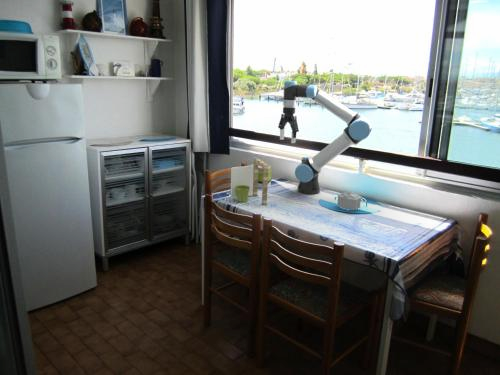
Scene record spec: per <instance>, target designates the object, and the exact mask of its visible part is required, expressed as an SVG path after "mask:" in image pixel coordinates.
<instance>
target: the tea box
mask: <svg viewBox="0 0 500 375" xmlns="http://www.w3.org/2000/svg"><path fill="white" fill-rule="evenodd" d="M248 166H254V163H250V164H249V165H248ZM272 167H273V166H272V165H268V188H267V190H268V189H269V188H270V187H271V186H272V185H271V183H272ZM262 183H263V168H262V167H261V166H259V165H258V189H262Z"/></svg>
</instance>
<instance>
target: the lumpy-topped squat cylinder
mask: <svg viewBox="0 0 500 375" xmlns="http://www.w3.org/2000/svg"><path fill="white" fill-rule="evenodd" d="M361 200H362V196H360V195H359V194H356V193H355V192H354V191H350V192H348V191H344V192H340V193H338V195H337V204H336V206H337V205H338V206H340V207H342V208H345V209H350V210H356V209H358V208H360V209H361V202H362V201H361ZM338 206H337V207H338ZM358 210H359V209H358ZM356 211H357V210H356Z"/></svg>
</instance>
